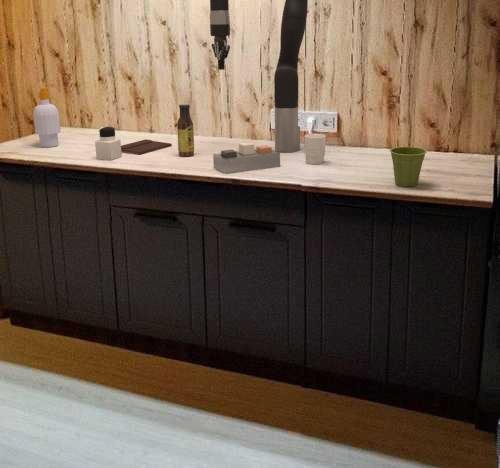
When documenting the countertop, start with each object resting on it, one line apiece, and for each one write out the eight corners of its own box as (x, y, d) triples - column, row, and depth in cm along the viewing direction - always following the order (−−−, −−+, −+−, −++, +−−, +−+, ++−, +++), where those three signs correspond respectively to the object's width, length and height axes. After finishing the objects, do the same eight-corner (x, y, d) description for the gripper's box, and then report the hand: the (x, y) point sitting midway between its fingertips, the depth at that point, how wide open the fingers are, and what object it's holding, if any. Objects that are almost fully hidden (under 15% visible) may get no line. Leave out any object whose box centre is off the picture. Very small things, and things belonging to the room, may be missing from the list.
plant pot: (384, 187, 236) (386, 153, 232) (391, 178, 246) (393, 145, 243) (422, 190, 232) (424, 155, 228) (427, 181, 242) (429, 147, 238)
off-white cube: (249, 151, 267) (249, 142, 266) (254, 154, 263) (254, 144, 262) (238, 153, 265) (238, 143, 264) (243, 155, 262) (243, 145, 261)
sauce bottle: (191, 157, 283) (189, 105, 277) (176, 156, 284) (173, 105, 278) (196, 153, 289) (194, 103, 283) (181, 153, 290) (178, 103, 284)
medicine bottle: (122, 156, 287) (119, 126, 283) (111, 160, 280) (108, 129, 277) (107, 155, 289) (104, 125, 286) (96, 159, 283) (93, 128, 279)
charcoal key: (232, 158, 265) (231, 149, 264) (236, 161, 261) (236, 151, 260) (221, 160, 263) (221, 150, 262) (226, 162, 259) (225, 152, 258)
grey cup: (327, 160, 273) (328, 134, 270) (322, 165, 266) (323, 138, 263) (307, 159, 276) (307, 133, 272) (301, 164, 269) (301, 137, 265)
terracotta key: (266, 154, 270) (266, 145, 269) (271, 156, 267) (271, 147, 266) (256, 155, 269) (256, 146, 268) (261, 158, 265) (261, 148, 264)
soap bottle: (67, 144, 311) (61, 87, 303) (48, 149, 303) (42, 90, 295) (50, 142, 316) (44, 86, 308) (31, 146, 308) (24, 89, 300)
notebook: (172, 147, 304) (171, 142, 304) (139, 156, 289) (139, 151, 288) (145, 143, 312) (145, 138, 312) (112, 152, 297) (111, 147, 297)
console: (267, 160, 275) (267, 147, 273) (280, 166, 266) (280, 152, 264) (213, 167, 266) (213, 154, 264) (224, 173, 257) (224, 159, 256)
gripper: (236, 23, 273) (237, 70, 279) (222, 22, 285) (223, 67, 290) (217, 23, 270) (219, 71, 276) (204, 22, 282) (205, 68, 287)
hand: (221, 69), depth 283 cm, fingers closed
